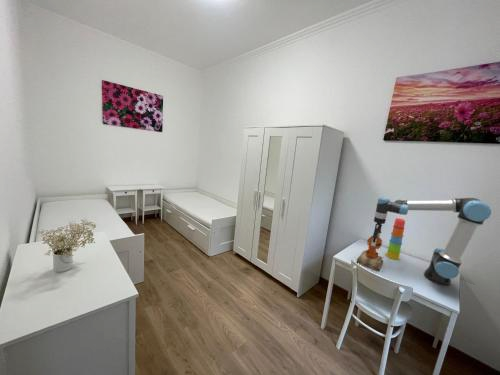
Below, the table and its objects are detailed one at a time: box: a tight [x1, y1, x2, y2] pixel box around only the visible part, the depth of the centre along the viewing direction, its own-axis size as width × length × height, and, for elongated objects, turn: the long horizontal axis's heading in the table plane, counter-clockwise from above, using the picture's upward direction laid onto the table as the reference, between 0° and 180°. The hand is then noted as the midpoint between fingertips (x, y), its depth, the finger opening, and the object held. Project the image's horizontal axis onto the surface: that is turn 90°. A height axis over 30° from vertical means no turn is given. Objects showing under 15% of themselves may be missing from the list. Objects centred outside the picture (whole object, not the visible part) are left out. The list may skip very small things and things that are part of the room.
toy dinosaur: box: [364, 235, 383, 258], centre depth 170 cm, size 11×11×18 cm
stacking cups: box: [385, 217, 406, 260], centre depth 184 cm, size 10×10×35 cm
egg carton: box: [356, 250, 384, 273], centre depth 172 cm, size 16×16×6 cm
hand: (374, 243), depth 169 cm, fingers open, 13 cm apart
